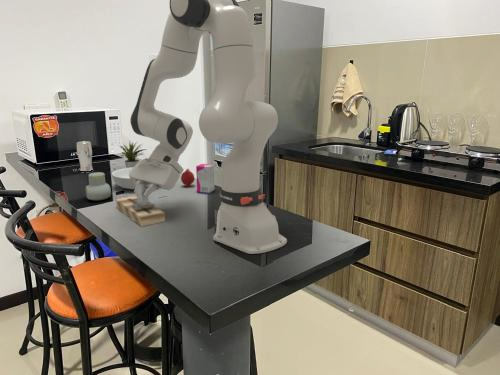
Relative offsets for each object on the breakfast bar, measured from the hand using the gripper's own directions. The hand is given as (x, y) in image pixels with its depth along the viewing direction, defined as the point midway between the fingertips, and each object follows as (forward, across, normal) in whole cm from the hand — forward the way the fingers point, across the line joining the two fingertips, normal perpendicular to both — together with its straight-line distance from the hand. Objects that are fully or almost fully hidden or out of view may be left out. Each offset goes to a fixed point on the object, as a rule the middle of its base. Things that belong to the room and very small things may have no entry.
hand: (140, 194), depth 126 cm
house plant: (-20, -58, +32) cm, 69 cm away
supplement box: (-20, -6, +32) cm, 38 cm away
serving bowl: (-10, -34, +22) cm, 42 cm away
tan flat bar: (+4, -4, +7) cm, 9 cm away
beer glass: (-12, -80, +24) cm, 84 cm away
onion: (-21, -18, +32) cm, 42 cm away
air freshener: (+4, -31, +8) cm, 32 cm away
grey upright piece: (+3, 0, +4) cm, 5 cm away
